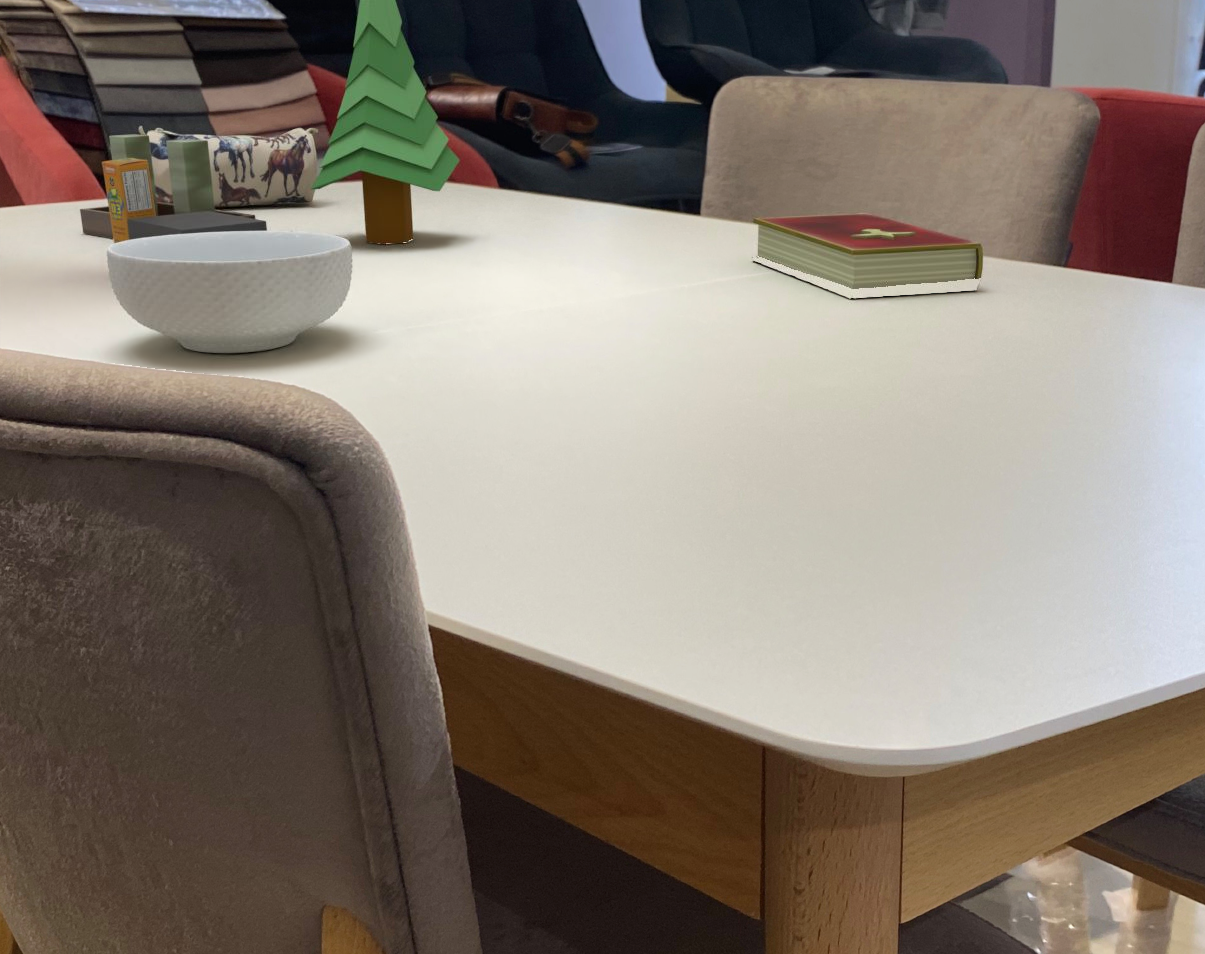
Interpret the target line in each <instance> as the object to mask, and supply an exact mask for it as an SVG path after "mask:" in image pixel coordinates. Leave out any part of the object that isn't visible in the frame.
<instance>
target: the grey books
mask: <svg viewBox="0 0 1205 954" xmlns="http://www.w3.org/2000/svg"><path fill="white" fill-rule="evenodd" d="M127 224H128V232H129V239H130V240H132V239H138V238H146V237H154V236H164V235H176V234H189V233H205V232H230V231H268V225H267V220H264V219H257V218H255V219H252V218H246V217H240V216H235V215H229V214H223V213H217V212H212V211H204V212H194V213H183V214H173V215H163V216H153V217H143V218H133V219H127Z"/></svg>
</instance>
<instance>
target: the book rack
mask: <svg viewBox="0 0 1205 954" xmlns="http://www.w3.org/2000/svg"><path fill="white" fill-rule="evenodd" d="M108 138H109V144H110V145H109V147H110V152H111V153H110V154H111V160H117V159H126V158H135V159H141V160H148V161H147V162H148V166H149V173H150V179H151V186H152V193H153V199H154V205H155V212H156V216H163V215H173V214H183V213H194V212H204V211H212V212H217V213H223V214H229V215H235V216H240V217H246V218H252V219H256V214H251V213H243V212H235V211H230V210H229V211H228V210H221V209H216V207H215V206H214V197H213V187H212V178H211V168H210V158H209V149H208V141H207V140H196V139H185V140H172V141H166V143H167V152H168V161H169V170H170V178H171V187H172V196H173V204H170V203H163V202H157V199H156V191H155V182H154V174H153V165H152V157H151V149H150V140H149V136H148V135H147V134H146V135H141V134H135V133H132V134H119V135H118V134H117V135H116V134H115V135H109V137H108ZM79 213H80V220H81V229H82V233H83V234H84V235H90V236H94V237H95V236H97V237H102V238H107V239H112V240H114V238H113V232H112V225H111V219H110V212H109V206H108V205H107V206H106V205H105V206H97V207H88V208H80V209H79Z"/></svg>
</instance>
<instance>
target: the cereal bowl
mask: <svg viewBox="0 0 1205 954" xmlns="http://www.w3.org/2000/svg"><path fill="white" fill-rule="evenodd" d="M352 250H353V248H352V245H351V242H350V241H349V239H347V238H345V237H342V236H339V235H334V234H328V233H321V232H309V231H297V230H296V231H294V230H293V231H292V230H267V231H230V232H205V233H189V234H176V235H164V236H154V237H146V238H138V239H132V240H126V241H122V242H118V243H115V244H114V243H112V244H110V245H109V246H108V247H107V249H106V262H107V269H108V276H109V280H110V284H111V288H112V290H113V293H114V296H115V299H116V300H117V301H118V303H119V305H120V307H122V309H123V310H124V311H125V312H126V313H127V315H129V316H130V317H131V318H132V319H133V320H135V321H136V322H137V323H138V324H139V325H142V326H143V327H144V328H145V327H146V328H147V329H150V330H152V331H155V332H157V333H159V334H162V335H165V336H168V337H170V338H173V339H175V340H177V341H178V343H179V345H181V347H183V348H184V349H187V350H189V351H194V352H199V353H208V354H209V353H210V354H211V353H212V354H242V353H243V354H244V353H252V352H253V353H254V352H261V351H268V350H274V349H279V348H281V347H285V346H287V345H290V344H292V343H293V342H294V341H295V340H296V338H297V336H298V335H299V334H300V333H302V332H305V331H307V330H309V329H312V328H313V327H316V326H318V325H320V324H322V323H324V322H325V321H328V320H329V319H331V317H333V316H334V315H335V314H336V313H337V312H339V309H340V308H341V307H342V306H343V304H344V302H346V300H347V299H346V298H347V297H348V293H349V291H350V287H351V281H352V274H353V252H352Z"/></svg>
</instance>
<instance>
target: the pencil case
mask: <svg viewBox="0 0 1205 954" xmlns="http://www.w3.org/2000/svg"><path fill="white" fill-rule="evenodd" d="M138 132H139V135H148V136H149V140H150V149H151V157H152V165H153V174H154V182H155V191H156V199H157V202H163V203H170V204H173V196H172V187H171V178H170V170H169V161H168V152H167V143H166V141H172V140H185V139H196V140H207V141H208V149H209V158H210V168H211V178H212V187H213V197H214V206H215V208H231V207H232V208H234V207H248V206H252V205H254V206H255V205H257V206H267V205H277V204H288V203H290V204H307V203H312V202H313V200H314V196H315V193H316V189H311V187H312V186H313V184H314V182H315V180H316V179H317V177H318V157H317V150H316V144H315V140H314V135H315V134H317V133H319V129H318V128H314V127H309V128H308V129H306V130H305V129H304V128H302V127H297V128H294V129H291V130H289V131H287V132H285V133H282V134H281V133H280V134H277V135H273V136H272V135H271V136H256V135H244V134H243V135H242V134H241V135H211V134H179V133H175V132H172V131H168V130H164V129H163V128H161V127H156V128H155V129H154V130H148V131H147V133H145V131H144V128H143V126H142V125H140V126H138ZM310 189H311V190H310Z"/></svg>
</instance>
